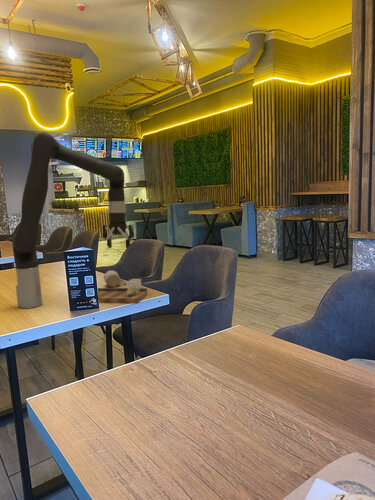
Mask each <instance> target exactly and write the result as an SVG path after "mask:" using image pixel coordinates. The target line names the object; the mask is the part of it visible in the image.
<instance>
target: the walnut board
mask: <svg viewBox="0 0 375 500" xmlns="http://www.w3.org/2000/svg"><path fill="white" fill-rule="evenodd" d="M127 290H128V287H98V288H97V291H98V300H99V303H98V304H138V303H140V302H141V301H142V300H144V298H146V297H147V296H148V288H146V287H145V288H144V287H141V290H142V292H141V293H139V294H138V295H130V297H129V294H127Z"/></svg>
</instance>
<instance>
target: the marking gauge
mask: <svg viewBox="0 0 375 500" xmlns="http://www.w3.org/2000/svg"><path fill="white" fill-rule="evenodd" d="M127 288H128V290H127V294H129V297H130V295H138V294H139V293H141V292H142V290H141V288H142V279H141V278H132V279H130V280H128V281H127Z"/></svg>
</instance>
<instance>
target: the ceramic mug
mask: <svg viewBox="0 0 375 500" xmlns="http://www.w3.org/2000/svg"><path fill="white" fill-rule="evenodd" d="M103 279H104V282H105V283H106V285H107V286H108V287H109V288H117V286H119V285H122V286H125V285H127V284H126V283H127V281H125V280H123V279H121V277H120V276H119V273H118V272H117V271H116V270H108V271H106V272H105V274H104V276H103Z"/></svg>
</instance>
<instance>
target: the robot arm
mask: <svg viewBox="0 0 375 500" xmlns="http://www.w3.org/2000/svg"><path fill="white" fill-rule="evenodd" d="M32 141H33V142H32V149H31V157H30V165H29V169H28V171H27V175H26V176H27V177H26V179H25V180H26V181H25V184H24V189H23V193H22V200H21V216H20V221H19V225H18V229H17V231H16V232H15V233H14V234H13V236H12V239H11V243H12V251H13V260H14V265H15V271H16V272H15V274H16V281H17V282H16V283H17V284H16V285H15V292H16V300H17V307H18V308H21V309H31V308H32V309H33V308H38V307H41V306H42V305H43V295H42V284H41V276H40V268H39V267H40V266H39V259H38V255H37V254H38V253H37V248H36V247H37V243H38V233H39V226H40V221H41V217H42V215H43V211H44V207H45V204H46V200H47V194H48V191H49V167H50V166H49V165H50V162H51V160H52V159H53V160H57V161H60V162H64V163H67V164H70V165H72V166H74V167H77V168H78V169H81V170H83V171H86V172H87V173H91V174H93V175H97V176H100V177H102V178H103V179H106V180H108V185H109V186H108V187H109V188H108V194H107V195H108V197H107V199H108V206H107V207H108V208H107V209H108V210H107V211H108V212H107V213H108V222H109V224H103V225H102V239H105V240H106V246H107V248H108V249H112V248H113V245H112V241H113V240H112V238H113V236H114V235H119V236H120V235H122V236H123V237H124V238H125V249H129V248H130V247H131V239H134V238H135V231H134V224H127V210H126V201H125V200H126V199H125V172H124V170H123V168H121V166H118V165H117V164H113V163H110V162H108V161H104V160H102V159H101V158H98V157H96V156H93V155H91V154H89V153H85V152H82V151H77V150H74V149H71V148H69V147H67V146H64V145H63V144H61V143H60V142H59V141H57V139H55V138H54V136H53V135H51V134H50V133H48V132H39V133H38V134H37V135H36V136H34V139H33V140H32ZM108 230H110V231H109V232H108ZM127 230H128V231H127Z"/></svg>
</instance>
